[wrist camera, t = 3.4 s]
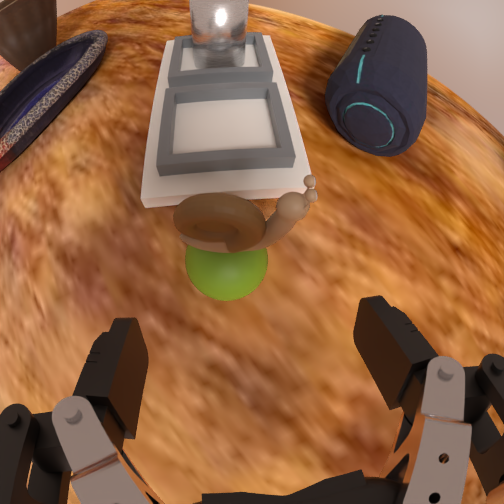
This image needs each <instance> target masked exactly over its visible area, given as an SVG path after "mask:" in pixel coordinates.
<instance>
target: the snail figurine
mask: <svg viewBox="0 0 504 504" xmlns="http://www.w3.org/2000/svg"><path fill="white" fill-rule="evenodd" d="M303 183H304V185H305V186H306V187H307V189H306V191H305V192H304V193H303V194H301V193H299V192H288V193H285V194H283V195H282V196H281V197H280V198H279V199H278V201H277V205H276V208H277V210H276V211H275V212H274V213H273V214H272V215H271V216H270V218H269V219H268V220H267V221H265V218H264V215H263V213H262V212H261V211H260V210H259V208H258V207H257V206H256V205H254V204H253V203H251V202H250V201H248V200H246V199H244V198H241V197H238V196H235V195H230V194H225V193H203V194H197V195H194V196H190V197H188V198H186V199H184V200H183V201H182V202H181V203H179V204H178V206H177V207H176V209H175V211H174V214H173V221H174V224H175V226H176V228H177V229H178V230H179V231H180V232H181V233H182V234H181V235H180V239H181V240H182V241H183V242H185V243H186V244H188V246H187V249H186V255H185V264H186V269H187V273H188V275H189V278H190V279H191V281H192V283H193V284H194V285H195V287H196V288H197V289H198V290H199V291H201V292H202V293H203V294H205V295H207V296H209V297H211V298H213V299H217V300H223V301H230V300H236V299H240V298H242V297H245V296H247V295H248V294H250V293H251V292H252V291H254V290H255V289H256V288H257V287H258V286H259V284H260V283H261V281H262V280H263V278H264V276H265V273H266V270H267V264H268V254H267V249H266V247H268V246H270V245H272V244H274V243H276V242H277V241H278V240H280V239H281V238H283V237H284V236H285V235H286V234H287V233H288V232H289V231H290V230H291V229H292V228H293V226H294V225H295V223H296V222H297V221H299V220H301V219H303V218H304V217H305V216H306V214H307V212H308V210H309V208H310V202H315V201H316V200H317V191H316V190H315V189H309V188H313V187H314V186H315V184H316V179H315V177H314V176H313V175H307V176H305V177H304V180H303Z"/></svg>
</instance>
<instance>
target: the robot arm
mask: <svg viewBox="0 0 504 504" xmlns="http://www.w3.org/2000/svg"><path fill="white" fill-rule="evenodd" d="M353 337H354V342H355V345H356V347H357V349H358V351H359V353H360V355H361V357H362V358H363V360H364V362H365V364H366V366H367V368H368V369H369V371H370V373H371V375H372V377H373V379H374V381H375V383H376V385H377V386H378V388H379V390H380V392H381V394H382V396H383V398H384V400H385V402H386V404H387V406H388V408H389V410H392V409H395V408H398V407H402V409H403V413H402V415H401V417H400V421H399V425H398V429H397V432H396V436H395V439H394V442H393V445H392V449H391V452H390V455H389V457H388V460H387V462H386V464H385V465H384V467H383V469H382V471H381V473H380V475H379V477H364V475H363V472H362V470H358V471H354V472H351V473H347V474H344V475H340V476H336V477H332V478H328V479H324V480H322V481H320V482H318V483H316V484H314V485H311V486H309V487H307V488H305V489H302V490H300V491H297V492H295V493H293V494H290V495H286V496H278V495H265V494H255V493H247V492H234V493H209V494H202V501H201V502H197V503H193V504H461V499H462V495H463V490H464V485H465V480H466V474H467V468H468V461H469V457H470V459H471V461H472V463H473V466H474V468H475V470H476V472H477V474H478V477H479V479H480V481H481V484H482V486H483V488H484V491H485V493H486V496H487V498H486V503H485V504H504V433H503V435H502V436H501V435H500V433H499V431H498V429H497V428H496V426H495V424H494V422H493V421H492V419H491V417H490V416H489V414H488V412H487V410H488V409H489V408H490V406H491V405H493V407H494V408H495V410H496V412H497V413H498V415H499V417H500V418H501V420H502V422H503V424H504V357H502V356H500V355H498V354H488V355H486V356H485V357H484V358H483V360H482V361H481V363H480V365H479V366H472V367H462V366H461V364H460V363H459V362H458V361H456V360H455V359H453V358H450V357H446V356H438V354H437V353H436V352H435V350H434V349H433V348H432V347H431V345H430V344H429V343H428V341H427V340H426V339H425V338H424V336H423V335H422V334H421V333H420V331H418V329H417V328H416V326H415V325H414V324H412V321H411V320H410V319H409V318H408V317H407V315H406V314H405V313H404V312H402V311H400V310H399V309H397V308H396V307H394V306H393V307H391V306H390V305H389V304H388V302H387V301H386V300H385V299H384V298H383V297H382V296H380V295H379V296H372V297H366V298H362V299H361V300H360V302H359V307H358V312H357V317H356V322H355V326H354V332H353ZM147 369H148V351H147V348H146V345H145V342H144V339H143V336H142V332H141V329H140V326H139V323H138V320H137V319H136V318H115V319H114V321H113V323H112V326H111V328H110V330H109V332H103V333H102V334H101V335H100V336H99V337H98V338H97V339H96V340H95V341H94V343H93V345H92V348H91V350H90V354H89V355H88V357H87V360H86V363H85V364H84V367H83V369H82V372H81V374H80V377H79V380H78V382H77V385H76V387H75V390H74V393H73V395H72V396H70V397H67V398H64V399H62V400H61V401H60V402H59V403H58V404H57V405H56V406H55V408H54V409H53V411H52V412H46V413H38V414H32V413H31V412H30V411H29V410H28V408H27V407H26V406H24V405H22V404H12V405H10V406H8V407H7V408H5V409H4V410H3V411H2V413H1V415H0V504H67V499H68V491H69V484H70V481H71V484H72V487H73V489H74V491H75V493H76V495H77V497H78V499H79V500H80V502H81V504H165V503H164V502H163V501H162V500H161V499H160V498H159V497H158V496H157V494H156V493H155V492H154V491H153V490H152V489H151V487H150V486H149V485H148V483H147V482H146V481H145V479H144V478H143V477H142V475H141V474H140V472H139V471H138V470H137V468H136V467H135V465H134V464H133V462H132V461H131V459H130V458H129V456H128V455H127V453H126V452H125V450H124V449H123V442H124V438H125V439H135V436H136V430H137V424H138V417H139V412H140V406H141V400H142V395H143V389H144V384H145V379H146V374H147ZM31 461H32V462H33V465H32V469H31V474H30V479H29V484H28V489H27V487H26V483H27V478H28V473H29V469H30V464H31ZM71 471H73V476H71Z"/></svg>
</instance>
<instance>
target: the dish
mask: <svg viewBox="0 0 504 504" xmlns="http://www.w3.org/2000/svg"><path fill="white" fill-rule="evenodd" d="M107 40H108V36H107V33H105V32H104V31H102V30H93V31H88V32H85V33H82V34H80V35H77V36H75V37H73V38H70V39H68V40H66V41H64V42H63V43H61V44H59V45H57V46H56V47H54V48H52V49H51V50H49V51H48V52H46V53H45V54H43V55H42V56H40V57H39V58H38V59H36V60H35V61H34V62H32V63H31V64H30V65H29V66H27V67H26V68H25V69H24V70H23V71H21V72H20V73H19V74H18V75H17V76H16V77H15V78H14V79H13V80H11V81H10V82H9V83H8V84H7V85H6V86H5V87H4V88H3V90H2V91H1V92H0V171H1V170H3V169H4V168H5V167H6V166H7V165H8V164H10V163H11V162H12V161H13V160H14V159H15V158H16V157H17V156H18V155H19V154H20V153H21V152H22V151H23V150H24V149H25V148H26V147H27V146H28V145H29V144H30V143H31V142H32V141H33V140H34V139H35V138H36V137H37V136H38V135H39V134H40V133H41V131H42V130H43V129H44V128H45V127H46V126H47V125H48V124H49V123H50V122H51V121H52V120H53V119H54V117H55V116H56V115H57V114H58V113H59V112H60V111H61V110H62V109H63V108H64V107H65V105H66V104H67V103H68V102H69V101H70V100H71V99H72V98H73V97H74V96H75V94H76V93H77V92H78V91H79V90H80V89H81V88H82V86H83V85H84V84H85V83H86V82H87V80H88V79H89V78H90V77H91V75H92V74H93V73H94V72H95V70H96V69H97V67H98V66H99V64H100V62H101V60H102V57H103V55H104V53H105V49H106V44H107Z"/></svg>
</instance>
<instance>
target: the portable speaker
mask: <svg viewBox="0 0 504 504" xmlns="http://www.w3.org/2000/svg"><path fill="white" fill-rule="evenodd" d="M325 102H326V106H327V109H328V112H329V114H330V117H331V119H332V120H333V122H334V124H335V126H336V128H337V130H338V131H339V132H340V133H341V134H342V135H343V136H344V137H345V139H346V140H347V141H349V142H350V143H351V144H353V145H354V146H356V147H357V148H359V149H361V150H363V151H365V152H368V153H371V154H373V155H376V156H388V157H391V156H395V155H399V154H400V153H402V152H404V151H406V150H407V149H408V148H409V147H410V146H411V145H412V144H413V143H415V141H416V140H417V138H418V136H419V134H420V131H421V129H422V126H423V124H424V121H425V119H426V106H427V49H426V44H425V41H424V39H423V37H422V35H421V34H420V33H419V31H418V30H417V29H416V28H415V27H414V26H413V25H411V24H410V23H409V22H407V21H406V20H404V19H402V18H399V17H396V16H387V15H386V16H385V15H379V16H375V17H373V18H371V19H369V20H367V21H366V22H365V23H364V25H363V26H362V27H361V28H360V30H359V32H358V33H357V35H356V36H355V38H354V39H353V41H352V43H351V44H350V46H349V48H348V49H347V51H346V52H345V54H344V55H343V57H342V59H341V60H340V62H339V63H338V65H337V67H336V68H335V70H334V72H333V73H332V74H331V76H330V78H329V79H328V83H327V88H326V92H325Z"/></svg>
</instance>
